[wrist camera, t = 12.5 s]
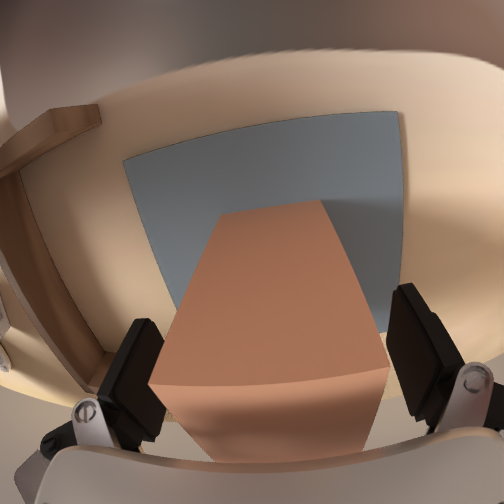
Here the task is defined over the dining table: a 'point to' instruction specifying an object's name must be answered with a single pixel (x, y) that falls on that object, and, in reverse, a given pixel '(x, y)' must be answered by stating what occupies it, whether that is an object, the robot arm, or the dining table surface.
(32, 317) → the frame
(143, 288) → the dining table surface
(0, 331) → the coffee box
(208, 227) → the mat
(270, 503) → the robot arm
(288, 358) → the block
